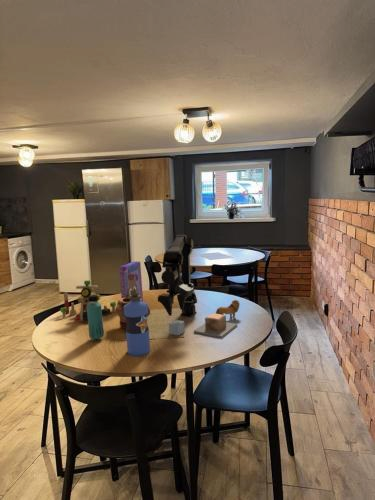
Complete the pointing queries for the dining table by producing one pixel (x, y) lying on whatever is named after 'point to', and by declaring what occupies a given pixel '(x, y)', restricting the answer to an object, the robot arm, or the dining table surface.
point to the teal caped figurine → (95, 318)
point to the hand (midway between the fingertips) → (176, 312)
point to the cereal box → (130, 279)
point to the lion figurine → (229, 309)
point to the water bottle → (137, 326)
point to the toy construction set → (84, 303)
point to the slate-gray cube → (176, 327)
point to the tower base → (216, 333)
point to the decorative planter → (120, 311)
